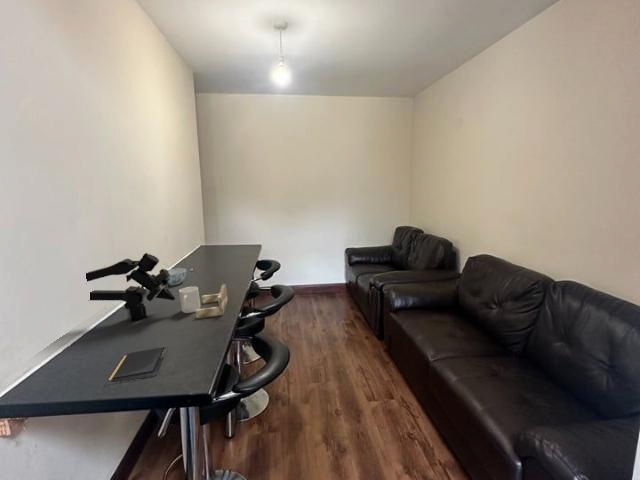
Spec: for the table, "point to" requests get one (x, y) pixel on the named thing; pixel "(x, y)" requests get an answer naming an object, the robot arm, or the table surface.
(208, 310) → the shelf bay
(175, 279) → the chinaware
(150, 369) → the dark grey notebook
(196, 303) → the cup
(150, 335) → the table surface
